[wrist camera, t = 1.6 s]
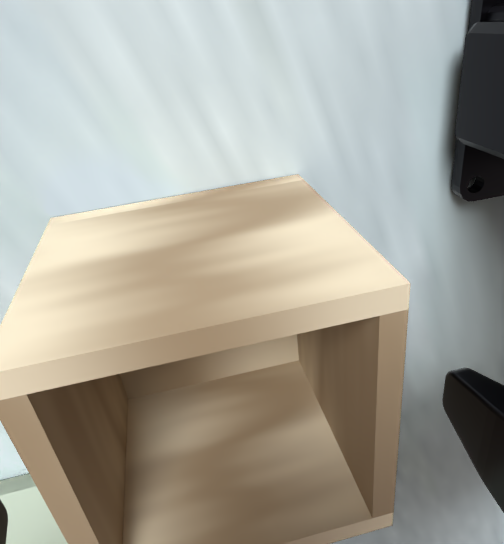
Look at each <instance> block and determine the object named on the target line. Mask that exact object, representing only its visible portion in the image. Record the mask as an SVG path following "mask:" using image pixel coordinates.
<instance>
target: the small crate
mask: <svg viewBox="0 0 504 544" xmlns="http://www.w3.org/2000/svg"><path fill="white" fill-rule="evenodd" d="M409 296H410V282H409V281H408V280H407V279H406V278H405V277H404V276H403V275H401V274H400V273H399V272H398V271H397V270H396V269H395V268H394V267H393V266H392V265H391V264H390V263H389V262H388V261H387V260H386V259H385V258H384V257H383V256H382V255H381V254H380V253H379V252H378V251H377V250H376V249H375V248H374V247H373V246H372V245H371V244H370V243H369V242H367V241H366V240H365V239H364V238H363V237H362V236H361V235H360V234H359V233H358V232H357V231H356V230H355V229H354V228H353V227H352V226H351V225H350V224H349V223H348V222H347V221H346V220H345V219H344V218H343V217H342V216H341V215H340V214H339V213H338V212H337V211H336V210H335V209H333V208H332V207H331V206H330V205H329V204H328V203H327V202H326V201H325V200H324V199H323V198H322V197H321V196H320V195H319V194H318V193H317V192H316V191H315V190H314V189H313V188H312V187H311V186H310V185H309V184H308V183H307V182H306V181H305V180H304V179H303V178H302V177H301V176H300V175H298V174H297V175H291V176H286V177H280V178H274V179H269V180H263V181H257V182H252V183H246V184H240V185H235V186H229V187H223V188H218V189H212V190H206V191H201V192H195V193H189V194H184V195H178V196H172V197H167V198H161V199H155V200H150V201H144V202H138V203H133V204H127V205H121V206H116V207H110V208H104V209H99V210H93V211H87V212H82V213H76V214H70V215H65V216H59V217H53V218H50V220H49V222H48V225H47V227H46V229H45V231H44V233H43V235H42V237H41V240H40V242H39V244H38V246H37V248H36V250H35V252H34V254H33V257H32V259H31V261H30V263H29V265H28V267H27V269H26V272H25V274H24V276H23V278H22V280H21V282H20V284H19V287H18V289H17V291H16V293H15V295H14V297H13V299H12V302H11V304H10V306H9V308H8V310H7V312H6V314H5V317H4V319H3V321H2V323H1V325H0V421H1V422H2V424H3V426H4V428H5V430H6V432H7V433H8V435H9V437H10V439H11V441H12V443H13V444H14V446H15V448H16V450H17V452H18V453H19V455H20V457H21V459H22V461H23V463H24V464H25V466H26V468H27V470H28V472H29V474H30V475H31V477H32V479H33V481H34V483H35V485H36V486H37V488H38V490H39V492H40V494H41V496H42V497H43V499H44V501H45V503H46V505H47V507H48V508H49V510H50V512H51V514H52V516H53V518H54V519H55V521H56V523H57V525H58V527H59V528H60V530H61V532H62V534H63V536H64V538H65V539H66V541H67V543H68V544H330V543H333V542H337V541H340V540H344V539H347V538H351V537H354V536H358V535H361V534H365V533H368V532H372V531H375V530H379V529H382V528H386V527H389V526H393V512H394V499H395V485H396V472H397V458H398V445H399V431H400V418H401V404H402V391H403V377H404V364H405V350H406V337H407V323H408V310H409Z"/></svg>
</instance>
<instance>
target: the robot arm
mask: <svg viewBox="0 0 504 544" xmlns="http://www.w3.org/2000/svg"><path fill="white" fill-rule="evenodd" d="M455 135H456V137H457V140H456V149H455V158H454V166H453V175H452V190H453V192H454V193H455V194H456V195H457V196H459V197H461V198H463V199H465V200H467V201H477V200H482V199H488V198H493V197H498V196H503V195H504V0H472V6H471V15H470V24H469V32H468V33H467V35H466V39H465V48H464V57H463V67H462V76H461V85H460V94H459V103H458V112H457V121H456V130H455ZM473 177H475V182H474V184H473V185H472V186H471V187H469V188H468V184H469V181H470V180H471V179H472V178H473ZM443 406H444V410H445V412H446V414H447V416H448V418H449V420H450V421H451V423H452V425H453V427H454V429H455V431H456V433H457V435H458V436H459V438H460V440H461V442H462V444H463V446H464V448H465V450H466V451H467V453H468V455H469V457H470V459H471V461H472V463H473V465H474V466H475V468H476V470H477V472H478V474H479V475H480V477H481V479H482V480H483V482H484V484H485V485H486V487H487V488H488V490H489V491H490V493H491V494H492V496H493V497H494V499H495V500H496V502H497V503H498V505H499V506H500V508H501V509H502V511H503V512H504V385H502V384H500V383H498V382H496V381H494V380H492V379H490V378H488V377H486V376H484V375H482V374H480V373H478V372H476V371H474V370H472V369H469V368H461V369H457V370H453V371H450V372H448V373H447V375H446V378H445V385H444V393H443ZM7 527H8V514H7V510H6V508H5V506H4V504H3V503H2V501H1V500H0V544H6V537H7Z"/></svg>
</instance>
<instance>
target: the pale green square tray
mask: <svg viewBox="0 0 504 544" xmlns="http://www.w3.org/2000/svg"><path fill="white" fill-rule="evenodd" d="M0 500H1V501H2V503H3V504H4V506H5V508H6V510H7V514H8V527H7V537H6V544H68V543H67V541H66V539H65V538H64V536H63V534H62V532H61V530H60V528H59V527H58V525H57V523H56V521H55V519H54V518H53V516H52V514H51V512H50V510H49V508H48V507H47V505H46V503H45V501H44V499H43V497H42V496H41V494H40V492H39V490H38V488H37V486H36V485H35V483H34V481H33V479H32V477H31V475H30V474H25V475H21V476H17V477H13V478H9V479H5V480H1V481H0Z"/></svg>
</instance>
